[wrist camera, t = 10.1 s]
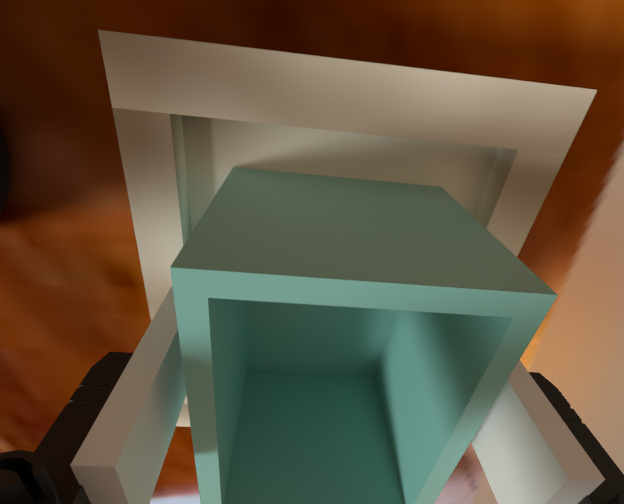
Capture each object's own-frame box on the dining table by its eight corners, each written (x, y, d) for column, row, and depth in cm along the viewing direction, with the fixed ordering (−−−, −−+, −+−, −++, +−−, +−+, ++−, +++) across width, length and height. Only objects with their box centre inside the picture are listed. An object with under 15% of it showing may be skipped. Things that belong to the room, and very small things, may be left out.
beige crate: (184, 40, 14) (95, 26, 8) (480, 76, 15) (600, 87, 9) (205, 325, 22) (169, 426, 16) (397, 336, 23) (431, 435, 17)
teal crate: (233, 167, 11) (169, 267, 6) (440, 186, 11) (557, 295, 6) (235, 367, 16) (203, 522, 10) (382, 374, 16) (420, 525, 11)
